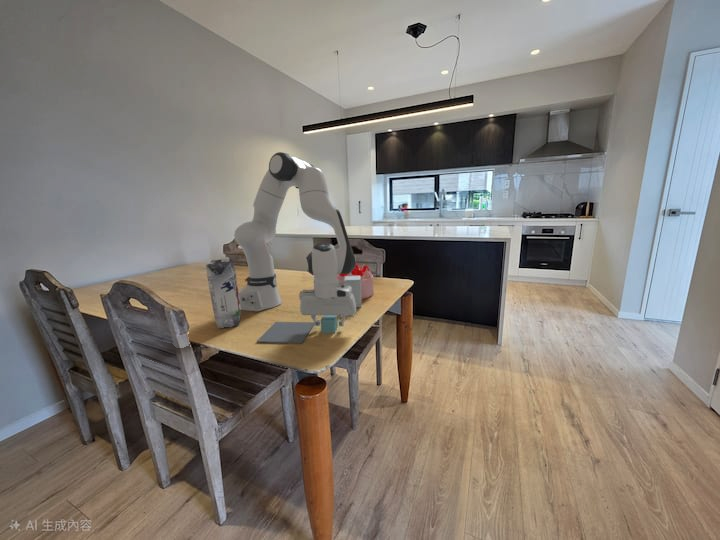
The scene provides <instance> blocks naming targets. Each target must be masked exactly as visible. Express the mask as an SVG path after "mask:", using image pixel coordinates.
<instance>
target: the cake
mask: <svg viewBox="0 0 720 540" xmlns="http://www.w3.org/2000/svg"><path fill="white" fill-rule="evenodd" d="M345 276H361V300H365V299H367V298H370V297H372V296H373V295H374V289H375V287H374V275H373V274H372V272H371V270H370V268H369V266H368V265H365V263H363V264H362V266H361V267H360V266H359V264H358V263H356V267H355V268H354V269H353V271H352V272H350V273H349V274H337V277H338V280H339V283H342V284H344V278H345Z"/></svg>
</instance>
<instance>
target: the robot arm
mask: <svg viewBox="0 0 720 540" xmlns="http://www.w3.org/2000/svg"><path fill="white" fill-rule="evenodd" d="M327 185H328V184H327V182H326V178H325V174H324V173H323V171H322V170H321V168H319V167H316V166H314V165H312V164H310V163H308V162H307V161H305V160H304V159H301V158H299V157H296V156H294V155H290V154H289V153H286V152H281V151H278V152H276V153H274V154H273V155H272V156H271V157H270V160H269V163H268V170H267V171H266V173H265V174H264V176H263V177H262V180H261V183H260V185H259V187H258V190H257V192H256V195H255V197H254V201H253V205H252V206H253V209H254V210H253V211H254V212H253V218H252V220H251V221H246V222H244V223H241V224H240V225H239V226H237V228H236V229H235V231H234V240H235V242H236V243H237V244H238V246H240V248H241V249H242V251H243V254H244V255H245V258H246V259H245V260H246V262H247V267H248V275H249V276H247V277H246V278H244V282H245V283H246V284H245V286H243V288H241V289H240V290H238V292H239V299H240V305H241V311H248V312H261V311H263V310H268V309H272V308H275V307H277V306H279V305H281V304H282V299H281V297H280V294H279V290H278V282H277V281H278V279H277V275H276V273H275V267H274V258H273V256H272V255H271V253H270V251H269V249H268V245H267V244H268V243H269V242H271V241H272V240H273V239H274V238H275V236H276V235H277V229H276V228H277V223H278V218H279V213H280V211H281V208H282V206H283V204H284V201H285V199H286V196H287V193H288V191H289V189H290V188H291V187H295V189H298V192H299V193H298V195H299V200H300V208H301V210H302V212H303V214H305V215H306V216H307V217H309V218H310V219H311V220H315V221H317V222H320V223H321V222H322V223H325V224H327V225H329V226H330V228H332V229H333V231H334V234H335V238H336V241H337V243H338V244H337V245H338V248H335V246H334V245H333V244H332V243H327V242H322V243H321V242H320V243H318V244H317V243H316V244H314V245H313V246H312V250H311V251H310V252H309V253H308V255H306V257H305V258H306V261H307V272H308V273H309V274H310V275H312V276H313V289H302V290H301V291H299V294H298V297H299V299H298V300H299V301H300V306H299V307H300V308H299V311H300V313H301V315H303V316H310V318H311V319H312V322H315V325H314V326H315V327H320V326H321V321H320V320H321V319H318V318H317V317H316V316H323V315H337V316H341V318H342V319H340V320H338V327H344V325H345V320H346V317H347V316H354V315H355V314H356V312H357V307H356V302H355V297H354V295H353V294H352V293H351V292H352V287H351V286H348V285H345V284H342V283H339V280H338V277H337V274H349V273H350V272H352V271H353V269H354V268H355V267H356V264H357V260H356V259H357V258H356V255H355V253H354V251H353V248H352V246H351V243H350V239H349V236H348V235H349V234H348V232H347V229H346V225H345V222H344V219H343V216H342V213H341V212H340V210H339V208H338V207H336V206H335V205H334V204H333V203H332V202H331V200H330V198H329V189H328V186H327Z"/></svg>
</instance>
